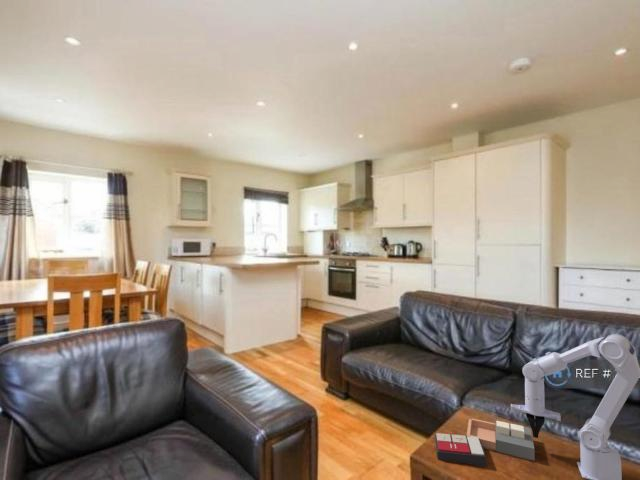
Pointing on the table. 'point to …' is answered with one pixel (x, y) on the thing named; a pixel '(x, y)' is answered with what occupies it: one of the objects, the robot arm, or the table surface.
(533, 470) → the table surface
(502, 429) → the tile
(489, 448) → the box
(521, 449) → the grey rectangular block
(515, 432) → the tile
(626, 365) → the robot arm
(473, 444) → the calculator
